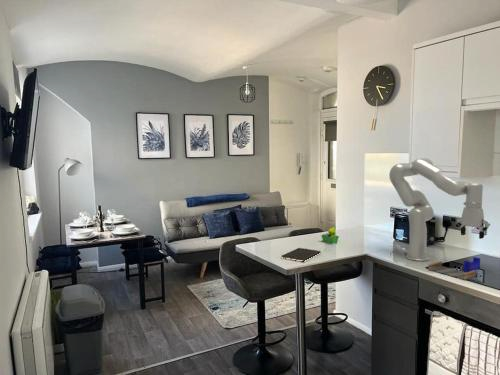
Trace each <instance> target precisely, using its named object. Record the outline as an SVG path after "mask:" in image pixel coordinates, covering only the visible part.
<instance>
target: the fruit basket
mask: <svg viewBox="0 0 500 375" xmlns="http://www.w3.org/2000/svg"><path fill="white" fill-rule="evenodd" d="M327 231H328V233H323V234H321V238H322V241H323V243H326V242H328V243H327V244H329V243H331V244H330V245H334V244H333V243H335V244H338V241H339V238H340V236H339V235H336V233H337V229H336V227H335V226H331V227H330V228H329V229H328V230H327Z"/></svg>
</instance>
